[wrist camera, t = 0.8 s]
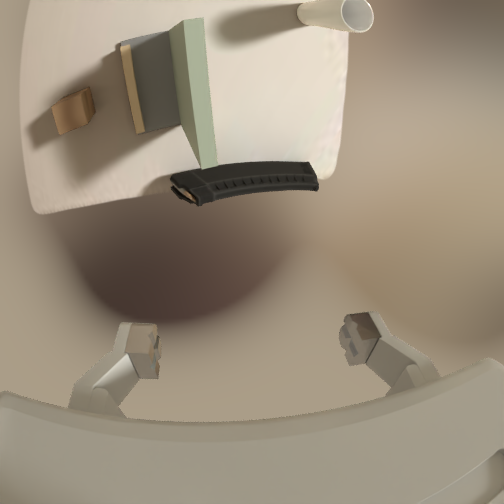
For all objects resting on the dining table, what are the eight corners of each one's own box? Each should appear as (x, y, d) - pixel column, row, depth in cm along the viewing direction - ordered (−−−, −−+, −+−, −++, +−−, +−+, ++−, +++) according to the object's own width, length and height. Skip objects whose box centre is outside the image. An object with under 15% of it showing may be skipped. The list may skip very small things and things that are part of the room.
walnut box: (68, 122, 37) (56, 136, 32) (61, 98, 34) (48, 108, 29) (95, 112, 39) (87, 124, 33) (89, 87, 35) (79, 94, 30)
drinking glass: (299, 32, 40) (347, 37, 30) (286, 3, 35) (334, -2, 25) (327, 24, 40) (378, 29, 30) (316, -4, 35) (367, -8, 25)
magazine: (336, 177, 56) (209, 216, 41) (332, 190, 58) (209, 233, 44) (282, 147, 66) (166, 172, 51) (280, 158, 68) (167, 187, 53)
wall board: (137, 133, 45) (136, 186, 30) (121, 41, 32) (103, 38, 18) (190, 120, 47) (217, 165, 33) (180, 29, 34) (203, 17, 20)
